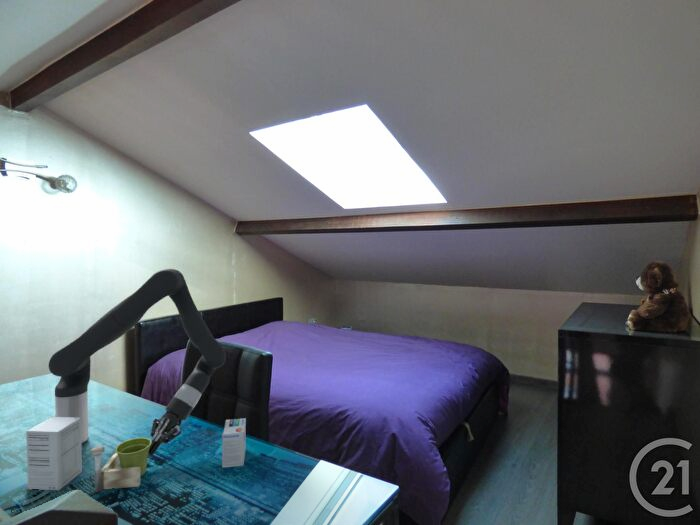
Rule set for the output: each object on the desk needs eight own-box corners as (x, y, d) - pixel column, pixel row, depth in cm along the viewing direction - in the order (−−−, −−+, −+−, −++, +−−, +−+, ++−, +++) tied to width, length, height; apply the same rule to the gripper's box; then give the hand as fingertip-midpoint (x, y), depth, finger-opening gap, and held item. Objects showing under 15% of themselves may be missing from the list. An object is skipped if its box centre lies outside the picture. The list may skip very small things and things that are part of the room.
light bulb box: (225, 450, 130) (225, 419, 130) (246, 448, 132) (246, 417, 131) (221, 468, 120) (221, 434, 120) (244, 466, 121) (244, 432, 121)
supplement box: (53, 470, 118) (52, 415, 117) (83, 471, 118) (82, 416, 117) (26, 490, 108) (24, 430, 108) (58, 491, 108) (57, 431, 107)
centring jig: (80, 484, 111) (80, 443, 111) (117, 468, 120) (117, 430, 119) (104, 503, 103) (103, 459, 103) (142, 484, 111) (141, 444, 111)
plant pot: (127, 464, 121) (126, 437, 121) (158, 464, 121) (157, 437, 121) (109, 483, 112) (108, 453, 112) (142, 483, 112) (141, 453, 112)
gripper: (165, 392, 131) (128, 442, 121) (188, 400, 123) (151, 456, 114) (180, 402, 135) (145, 452, 126) (203, 411, 128) (168, 465, 118)
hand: (148, 453), depth 120 cm, fingers closed
